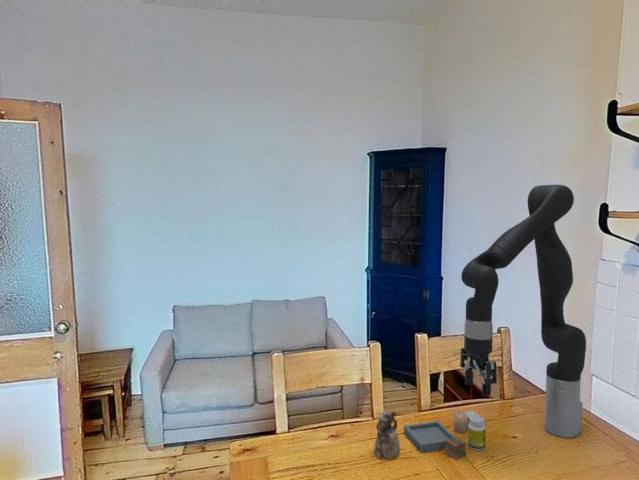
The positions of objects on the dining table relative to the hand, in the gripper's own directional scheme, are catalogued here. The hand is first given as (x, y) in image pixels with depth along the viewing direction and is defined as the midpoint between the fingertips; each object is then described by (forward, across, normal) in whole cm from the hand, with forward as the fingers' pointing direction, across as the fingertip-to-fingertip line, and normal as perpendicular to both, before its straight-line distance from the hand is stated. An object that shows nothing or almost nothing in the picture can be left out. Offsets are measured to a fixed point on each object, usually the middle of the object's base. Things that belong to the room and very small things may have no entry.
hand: (477, 390), depth 133 cm
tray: (+17, +7, +11) cm, 21 cm away
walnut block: (+17, -2, +8) cm, 19 cm away
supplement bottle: (+17, 0, 0) cm, 17 cm away
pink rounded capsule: (+17, +10, -1) cm, 19 cm away
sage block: (+17, +11, -5) cm, 21 cm away
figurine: (+17, +4, +26) cm, 31 cm away
